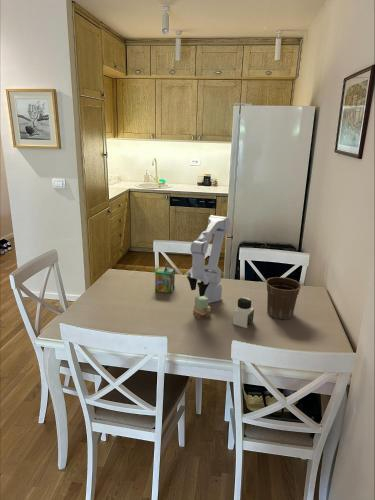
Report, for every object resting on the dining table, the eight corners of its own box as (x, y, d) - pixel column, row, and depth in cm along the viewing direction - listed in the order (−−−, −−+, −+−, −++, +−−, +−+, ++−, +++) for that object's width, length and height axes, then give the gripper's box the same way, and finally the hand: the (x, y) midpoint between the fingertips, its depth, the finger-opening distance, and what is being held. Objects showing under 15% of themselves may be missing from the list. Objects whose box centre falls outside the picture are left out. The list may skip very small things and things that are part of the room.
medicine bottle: (247, 328, 163) (249, 304, 160) (232, 324, 167) (234, 300, 163) (253, 322, 169) (255, 298, 165) (239, 318, 173) (240, 294, 169)
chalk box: (159, 285, 207) (159, 260, 202) (174, 287, 205) (175, 262, 201) (154, 291, 198) (154, 266, 194) (170, 293, 197) (171, 268, 192)
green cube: (202, 303, 176) (202, 295, 174) (207, 307, 172) (208, 298, 171) (194, 305, 173) (195, 297, 172) (200, 309, 170) (200, 300, 169)
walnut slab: (203, 312, 178) (203, 307, 177) (210, 317, 173) (210, 312, 172) (193, 315, 175) (193, 310, 175) (199, 320, 170) (199, 315, 170)
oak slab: (201, 307, 177) (201, 303, 177) (210, 311, 174) (210, 306, 173) (193, 311, 174) (194, 306, 173) (202, 315, 170) (202, 310, 169)
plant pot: (274, 303, 189) (278, 274, 184) (303, 314, 178) (307, 283, 173) (256, 313, 178) (259, 282, 173) (285, 325, 167) (289, 293, 162)
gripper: (183, 262, 173) (182, 288, 178) (199, 272, 162) (198, 300, 166) (195, 260, 177) (194, 286, 181) (212, 270, 165) (211, 297, 169)
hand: (197, 292), depth 174 cm, fingers open, 7 cm apart
